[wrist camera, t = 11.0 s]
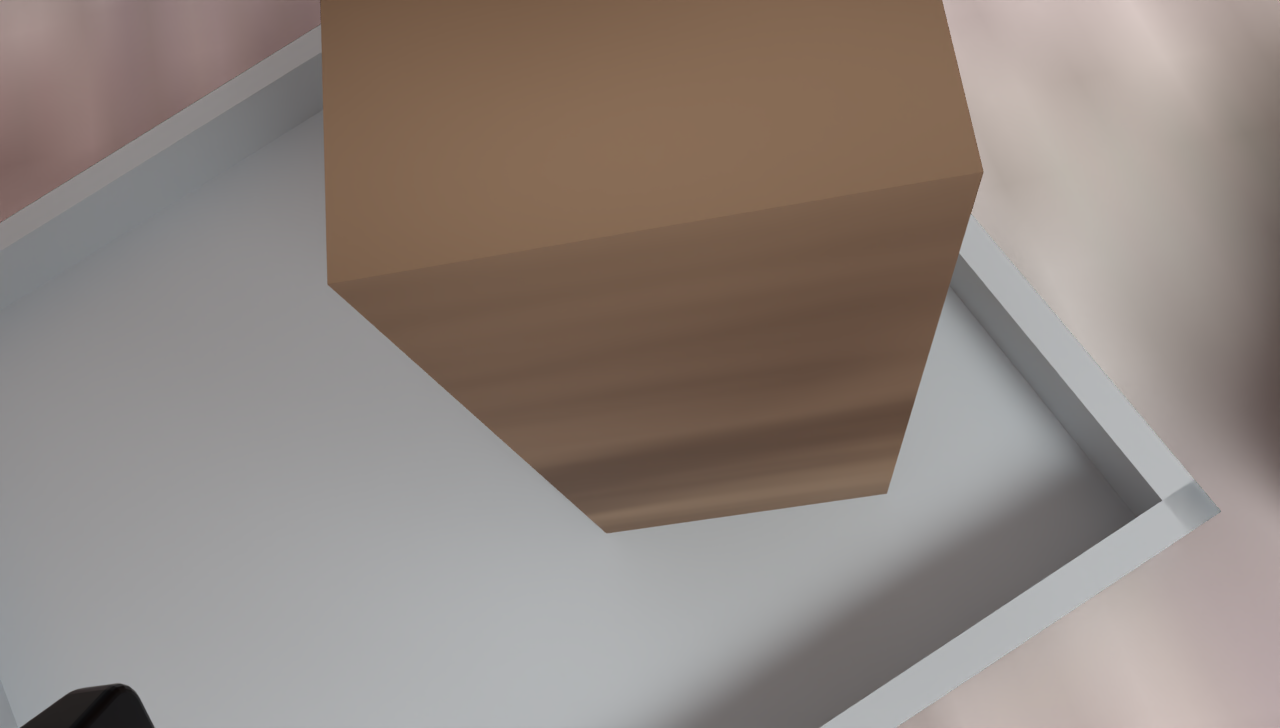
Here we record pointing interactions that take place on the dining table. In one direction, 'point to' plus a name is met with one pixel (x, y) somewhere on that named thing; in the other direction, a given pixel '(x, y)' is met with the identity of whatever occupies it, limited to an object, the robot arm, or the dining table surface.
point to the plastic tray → (482, 489)
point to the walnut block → (656, 231)
